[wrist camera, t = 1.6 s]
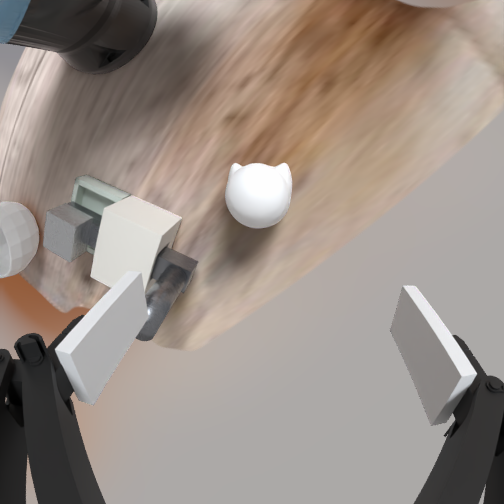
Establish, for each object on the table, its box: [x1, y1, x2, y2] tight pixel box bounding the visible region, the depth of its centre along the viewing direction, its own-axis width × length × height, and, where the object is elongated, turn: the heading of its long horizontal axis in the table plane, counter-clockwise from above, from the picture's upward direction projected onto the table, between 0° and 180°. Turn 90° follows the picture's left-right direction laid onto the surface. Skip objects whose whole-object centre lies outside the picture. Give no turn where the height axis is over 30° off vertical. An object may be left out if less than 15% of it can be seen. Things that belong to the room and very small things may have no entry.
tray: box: [71, 175, 131, 255], centre depth 39 cm, size 8×10×3 cm
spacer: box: [43, 203, 93, 262], centre depth 32 cm, size 5×5×4 cm
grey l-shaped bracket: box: [67, 201, 198, 341], centre depth 31 cm, size 20×3×14 cm, turn 66°
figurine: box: [225, 163, 292, 228], centre depth 31 cm, size 7×8×12 cm
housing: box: [90, 195, 182, 294], centre depth 37 cm, size 8×10×8 cm
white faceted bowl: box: [0, 201, 39, 278], centre depth 38 cm, size 12×12×10 cm
